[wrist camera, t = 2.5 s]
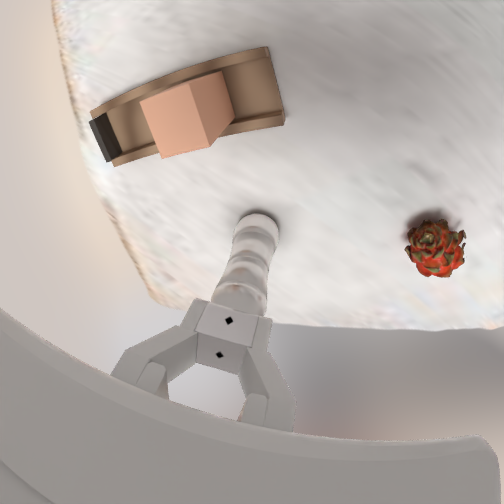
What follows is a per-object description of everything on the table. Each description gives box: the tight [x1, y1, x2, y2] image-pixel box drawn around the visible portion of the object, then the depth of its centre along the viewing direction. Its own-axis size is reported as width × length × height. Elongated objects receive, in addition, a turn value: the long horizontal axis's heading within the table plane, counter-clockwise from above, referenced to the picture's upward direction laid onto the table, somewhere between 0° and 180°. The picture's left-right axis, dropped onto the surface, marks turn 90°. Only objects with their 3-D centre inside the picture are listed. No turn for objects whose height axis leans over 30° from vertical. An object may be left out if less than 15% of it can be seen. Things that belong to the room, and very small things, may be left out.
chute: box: [89, 47, 285, 167], centre depth 30 cm, size 24×9×4 cm, turn 104°
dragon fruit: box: [404, 219, 466, 277], centre depth 35 cm, size 8×8×12 cm
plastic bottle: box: [211, 214, 279, 317], centre depth 35 cm, size 6×7×20 cm
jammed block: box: [140, 71, 235, 159], centre depth 25 cm, size 5×6×10 cm
